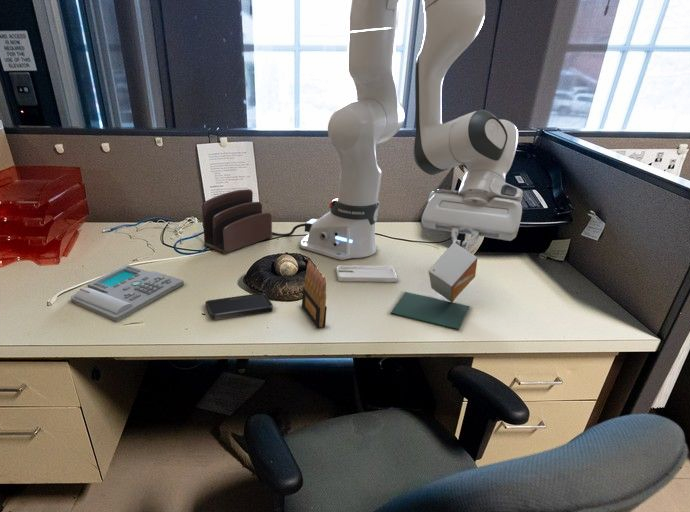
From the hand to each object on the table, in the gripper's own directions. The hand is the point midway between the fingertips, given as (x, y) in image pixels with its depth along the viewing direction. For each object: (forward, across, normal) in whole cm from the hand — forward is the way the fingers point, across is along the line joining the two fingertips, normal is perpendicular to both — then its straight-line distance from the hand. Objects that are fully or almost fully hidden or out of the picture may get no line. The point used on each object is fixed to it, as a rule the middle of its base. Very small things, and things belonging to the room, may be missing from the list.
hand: (459, 249), depth 105 cm
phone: (+28, -42, -10) cm, 51 cm away
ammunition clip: (+25, -25, -6) cm, 36 cm away
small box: (+4, 0, +10) cm, 10 cm away
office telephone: (+33, -72, -14) cm, 80 cm away
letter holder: (+2, -65, +16) cm, 67 cm away
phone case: (+6, -22, +13) cm, 26 cm away
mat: (+13, -2, +5) cm, 15 cm away
